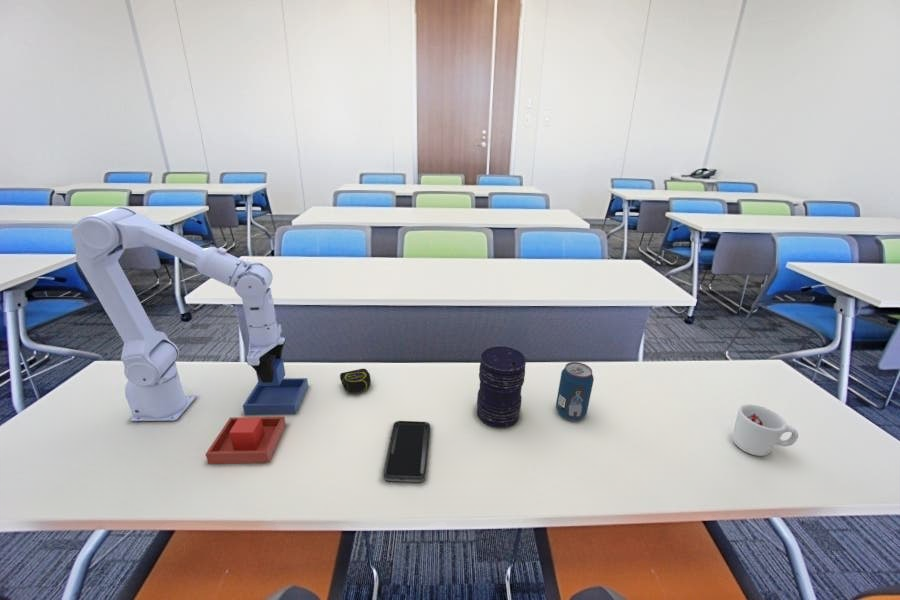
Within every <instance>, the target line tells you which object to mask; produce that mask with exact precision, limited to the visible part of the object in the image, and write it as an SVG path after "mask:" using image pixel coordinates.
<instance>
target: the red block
mask: <svg viewBox="0 0 900 600" xmlns="http://www.w3.org/2000/svg"><path fill="white" fill-rule="evenodd" d="M238 417H239V418H238V420H237V421H236V423H235V424H234V426H233V428H232V429H231V431H230V432H229V434H230V438H231V442H232V446H233V450H256V449H257V447H258V445H259V444H260V442H261V440H262V438H263V436H264V429H263V424H262V419H261V417H262V416H243V417H242V416H241V417H240V416H238Z"/></svg>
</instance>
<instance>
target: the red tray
mask: <svg viewBox="0 0 900 600" xmlns="http://www.w3.org/2000/svg"><path fill="white" fill-rule="evenodd" d="M239 417H240V416H237V417H236V416H233V417H232V416H230V417H229V418H228V420H227V421H226V423H225V424H224V426H223V427H222V429H221V430H220V432H219V433H218V435H217V436H216V438H215V439H214V440H213V442H212V444H211V445H210V447H209V448H208V450H207V451H206V453H205V458H206V460H207V464H208V465H216V464H217V465H218V464H219V465H221V464H265V463H266V464H268V463H270V461H271V459H272V457H273V455H274V453H275V450H276V448H277V446H278V444H279V442H280V440H281V438H282V436H283V433H284V431H285V428H286V427H287V424H286V418H285V416H260V417H261V419H262V424H263V429H264V436H263V438H262V440H261V442H260V444H259V445H258V447H257V449H256V450H233V446H232V442H231V438H230V434H229V432H230V431H231V429H232V428H233V426H234V424H235V423H236V421H237V420H238V418H239Z"/></svg>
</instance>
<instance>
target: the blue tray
mask: <svg viewBox="0 0 900 600" xmlns="http://www.w3.org/2000/svg"><path fill="white" fill-rule="evenodd" d="M308 389H309V383H308V378H307V377H306V378H305V377H299V378H298V377H296V378H295V377H291V378H289V377H287V378H285V377H284V378H283V380H282V382H281V383H280V385H279V386H259V384H258V382H256V384H255V386H254V388H253V389H252V390H251V392H250V393H249V395H248V397H247V398H246V399H245V401H244V403H243V404H242V408H243V414H244V416H245V415H247V416H248V415H296V414H297V413H298V411H299V408H300V406H301V404H302V402H303V400H304V397H305V395H306V393H307V390H308Z"/></svg>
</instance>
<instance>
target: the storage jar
mask: <svg viewBox="0 0 900 600" xmlns="http://www.w3.org/2000/svg"><path fill="white" fill-rule="evenodd" d="M526 365H527V358H526V356H525V355H524V354H523V353H522V352H521V351H519V350H517V349H516V348H512V347H509V346H492V347H491V346H490V347H488V348H486V349H484V350H483V351H482V352H481V354H480V362H479V370H478V371H479V373H478V378H479V388H478V391H477V398H476V405H477V406H476V415H477V418H478V420H479V421H480V422H481V423H482V424H483V425H486V426H488V427H491V428H494V429H508V428H511V427H513V426H515V425H516V424H517V423H518V421H519V419H520V412H521V408H522V389H523V388H522V387H523V386H524V383H525V377H526Z"/></svg>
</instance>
